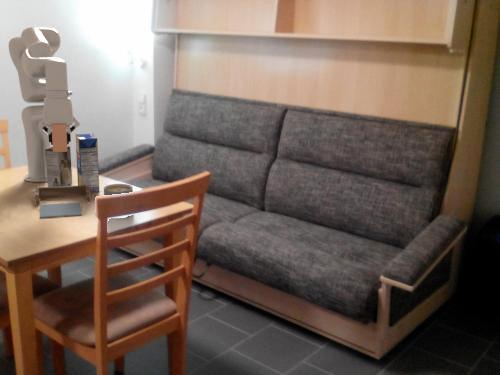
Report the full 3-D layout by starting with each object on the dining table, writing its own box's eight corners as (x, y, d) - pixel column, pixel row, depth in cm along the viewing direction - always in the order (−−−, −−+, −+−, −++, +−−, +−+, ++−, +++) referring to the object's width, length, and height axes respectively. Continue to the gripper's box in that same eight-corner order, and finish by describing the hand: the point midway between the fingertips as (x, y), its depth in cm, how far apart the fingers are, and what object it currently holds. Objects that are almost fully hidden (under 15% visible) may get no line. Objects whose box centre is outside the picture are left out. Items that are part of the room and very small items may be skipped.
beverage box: (82, 193, 215) (79, 139, 209) (78, 186, 225) (75, 134, 219) (99, 192, 218) (97, 138, 212) (94, 184, 228) (92, 133, 222)
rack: (36, 197, 208) (36, 187, 206) (88, 194, 214) (88, 185, 213) (35, 205, 199) (35, 195, 198) (90, 202, 205) (89, 192, 204)
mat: (40, 205, 198) (40, 204, 198) (80, 203, 203) (80, 202, 203) (39, 218, 186) (39, 216, 186) (82, 215, 190) (81, 214, 190)
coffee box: (59, 181, 230) (56, 145, 226) (72, 183, 229) (70, 146, 224) (47, 187, 221) (44, 149, 217) (61, 188, 220) (59, 150, 216)
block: (53, 148, 202) (51, 122, 199) (67, 148, 204) (66, 121, 201) (53, 151, 197) (51, 124, 194) (67, 151, 198) (66, 124, 195)
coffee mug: (101, 211, 195) (100, 185, 192) (128, 208, 200) (127, 182, 197) (112, 223, 184) (111, 195, 181) (140, 219, 189) (139, 192, 186)
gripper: (81, 93, 200) (83, 141, 206) (32, 93, 195) (35, 142, 200) (82, 96, 194) (84, 145, 199) (31, 95, 188) (34, 146, 193)
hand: (60, 143), depth 199 cm, fingers closed on block, 5 cm apart
